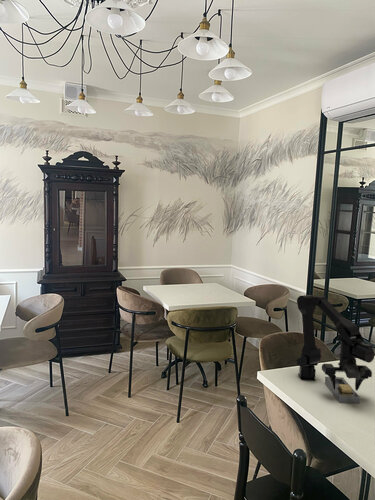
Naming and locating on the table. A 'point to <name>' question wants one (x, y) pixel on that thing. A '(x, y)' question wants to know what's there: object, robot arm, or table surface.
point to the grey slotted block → (340, 397)
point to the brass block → (345, 389)
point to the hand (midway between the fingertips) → (345, 389)
